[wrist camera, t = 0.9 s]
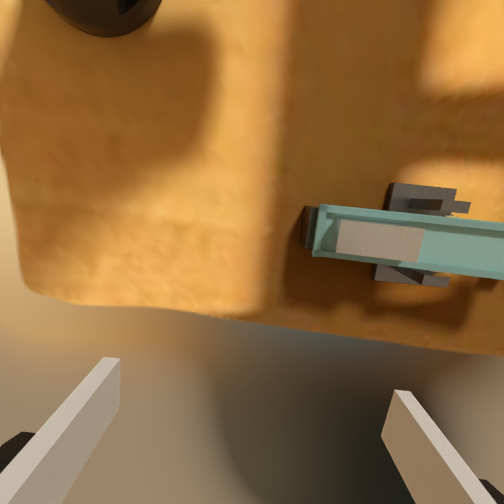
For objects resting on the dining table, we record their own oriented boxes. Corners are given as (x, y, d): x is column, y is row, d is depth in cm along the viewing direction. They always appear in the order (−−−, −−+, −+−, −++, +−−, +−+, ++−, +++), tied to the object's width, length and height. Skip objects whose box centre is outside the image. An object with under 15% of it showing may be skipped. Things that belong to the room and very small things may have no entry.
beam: (319, 201, 31) (320, 201, 30) (593, 229, 28) (612, 231, 26) (311, 255, 33) (312, 258, 31) (571, 289, 29) (587, 294, 28)
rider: (336, 217, 31) (341, 219, 27) (410, 225, 30) (425, 229, 26) (331, 246, 31) (335, 252, 28) (403, 255, 30) (417, 262, 27)
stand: (308, 174, 35) (322, 170, 28) (531, 197, 35) (597, 198, 28) (295, 270, 37) (304, 287, 31) (501, 290, 38) (555, 312, 31)
